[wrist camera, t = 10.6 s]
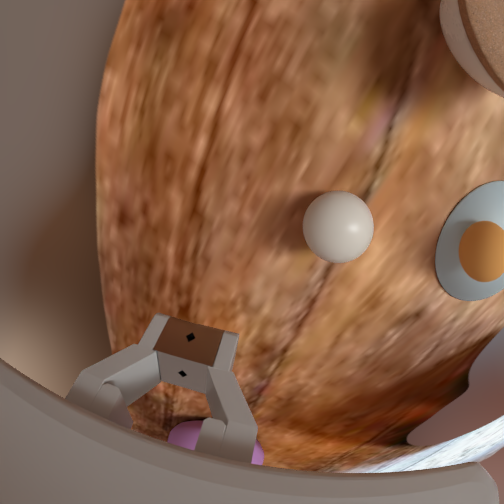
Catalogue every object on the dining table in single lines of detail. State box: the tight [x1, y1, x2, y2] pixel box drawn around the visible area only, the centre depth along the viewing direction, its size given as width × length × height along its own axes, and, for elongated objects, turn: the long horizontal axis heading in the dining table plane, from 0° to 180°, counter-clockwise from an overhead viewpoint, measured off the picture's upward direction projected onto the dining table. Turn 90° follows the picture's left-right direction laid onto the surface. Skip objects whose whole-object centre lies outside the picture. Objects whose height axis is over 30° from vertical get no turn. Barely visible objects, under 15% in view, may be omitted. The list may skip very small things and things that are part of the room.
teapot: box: [168, 421, 264, 465], centre depth 47 cm, size 23×21×15 cm
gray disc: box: [435, 181, 504, 301], centre depth 23 cm, size 14×14×1 cm
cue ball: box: [303, 191, 374, 263], centre depth 22 cm, size 6×6×6 cm
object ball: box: [459, 221, 504, 282], centre depth 21 cm, size 6×6×6 cm
